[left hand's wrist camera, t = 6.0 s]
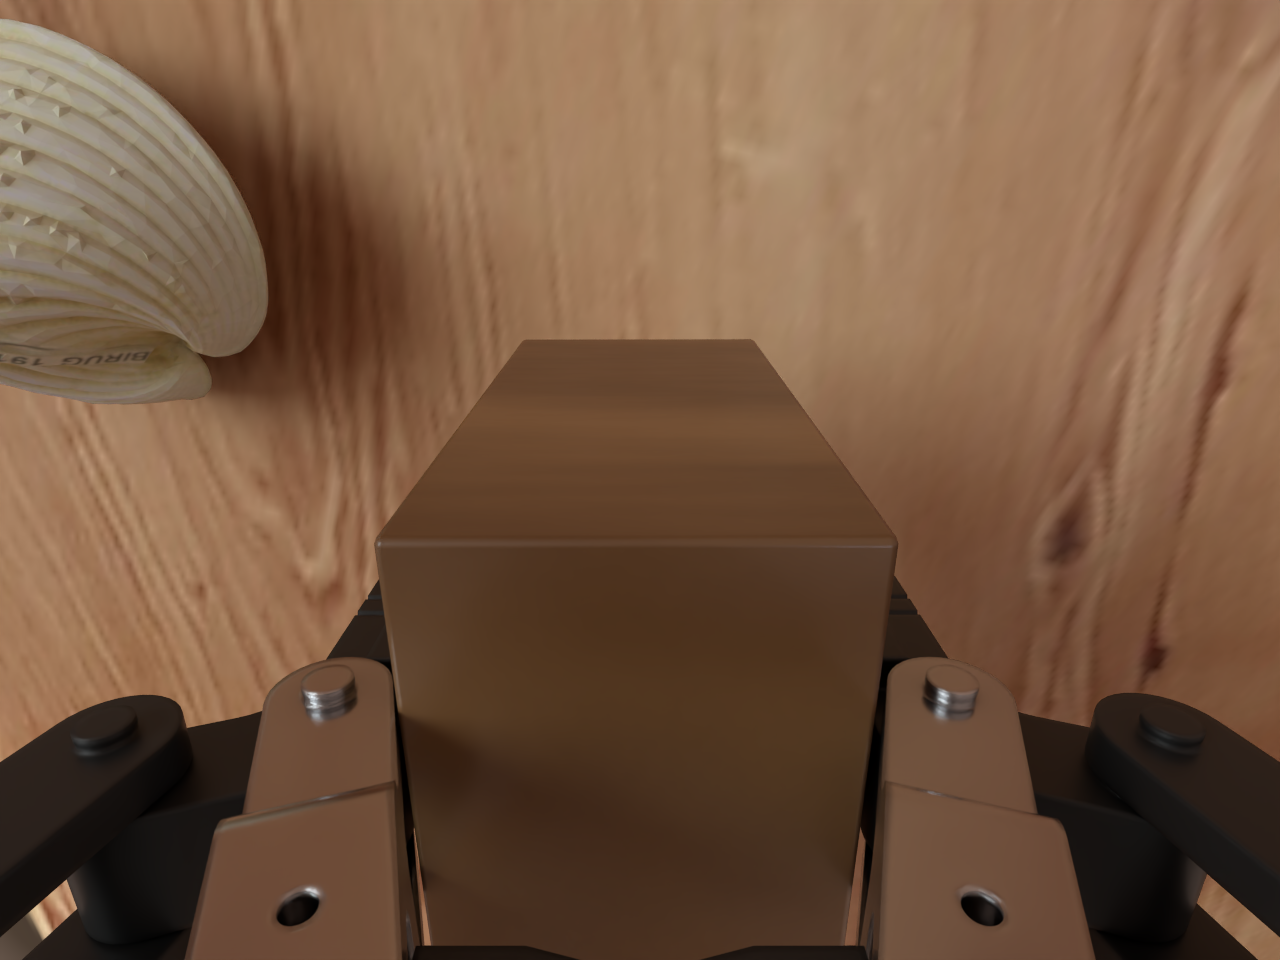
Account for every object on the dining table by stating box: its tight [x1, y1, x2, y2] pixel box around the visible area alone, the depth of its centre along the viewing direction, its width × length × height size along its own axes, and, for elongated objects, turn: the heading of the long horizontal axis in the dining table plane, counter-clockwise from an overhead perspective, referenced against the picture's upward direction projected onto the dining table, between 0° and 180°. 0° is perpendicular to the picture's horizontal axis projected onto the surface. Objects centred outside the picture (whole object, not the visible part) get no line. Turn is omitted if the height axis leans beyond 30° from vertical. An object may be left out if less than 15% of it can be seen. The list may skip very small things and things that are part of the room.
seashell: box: [0, 19, 268, 404], centre depth 18 cm, size 8×8×8 cm
